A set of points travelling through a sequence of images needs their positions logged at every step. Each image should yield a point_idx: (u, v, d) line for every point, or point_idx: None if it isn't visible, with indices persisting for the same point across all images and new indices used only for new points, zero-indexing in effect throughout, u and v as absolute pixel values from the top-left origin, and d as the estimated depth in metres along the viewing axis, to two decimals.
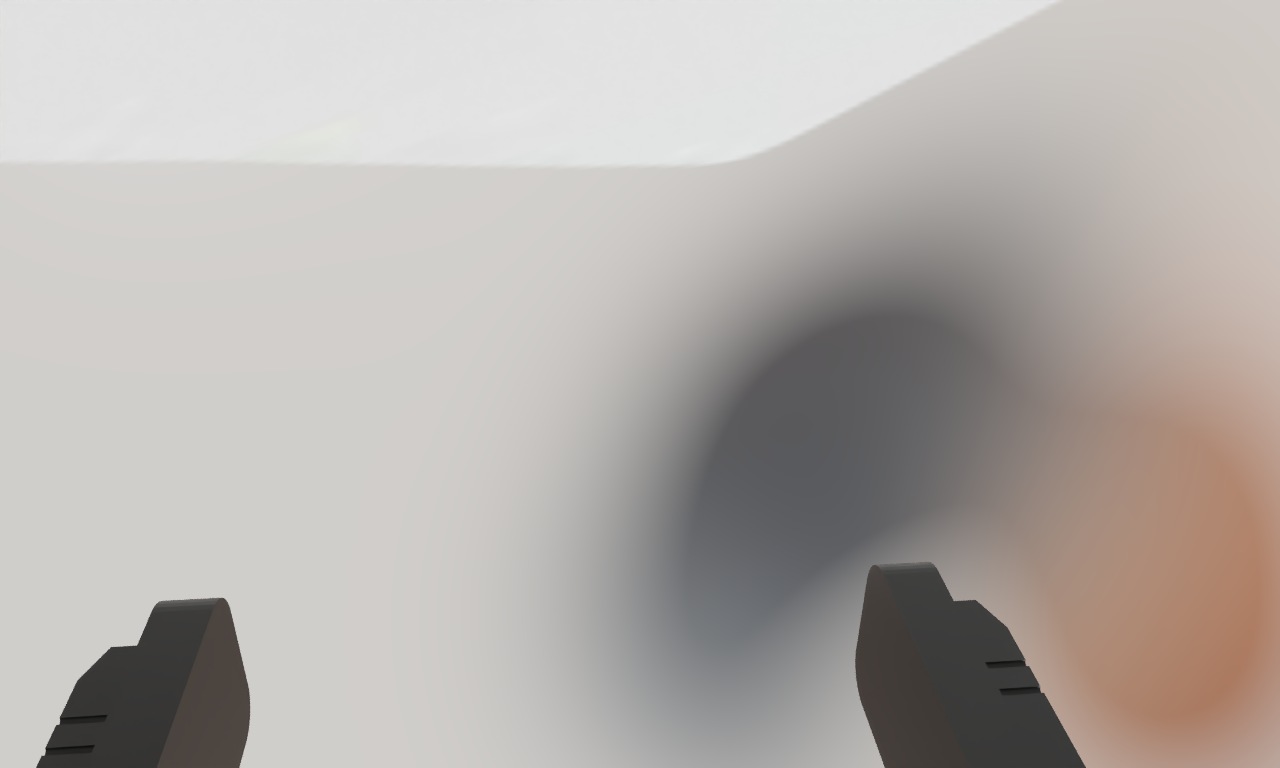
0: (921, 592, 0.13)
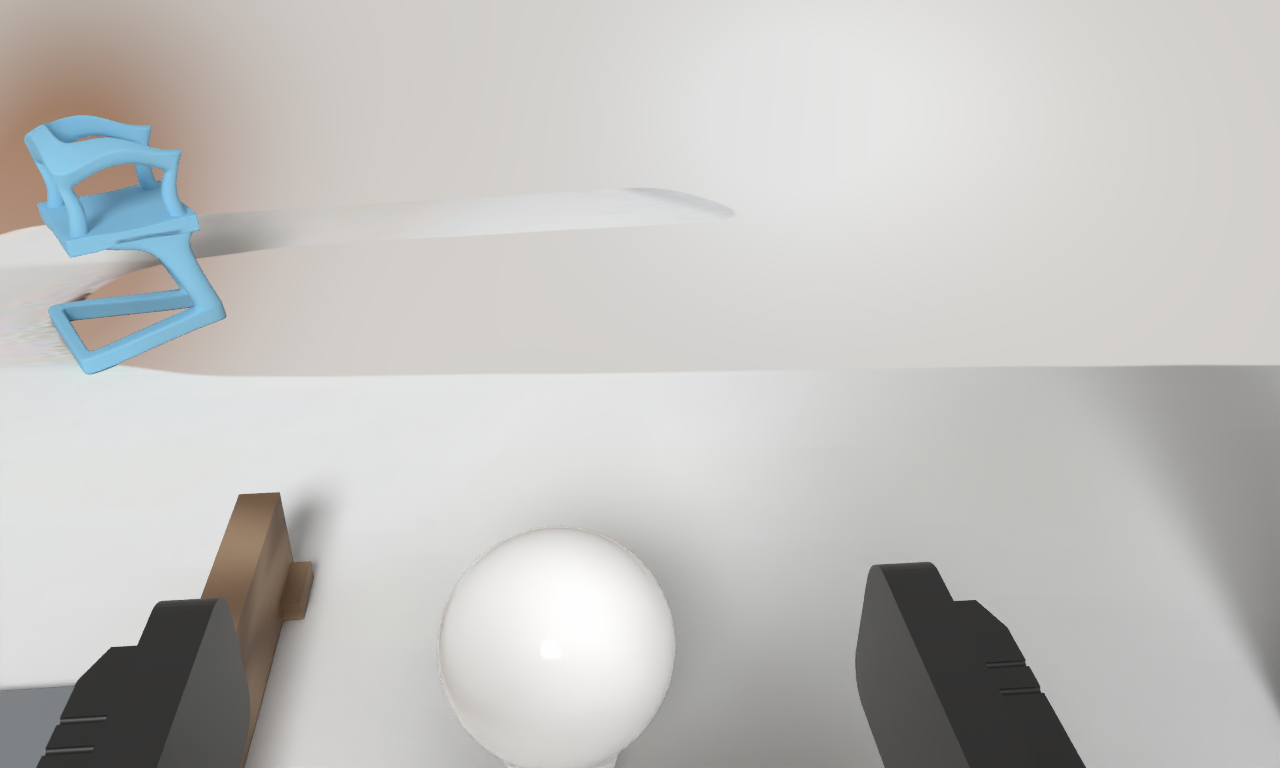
0: (921, 592, 0.13)
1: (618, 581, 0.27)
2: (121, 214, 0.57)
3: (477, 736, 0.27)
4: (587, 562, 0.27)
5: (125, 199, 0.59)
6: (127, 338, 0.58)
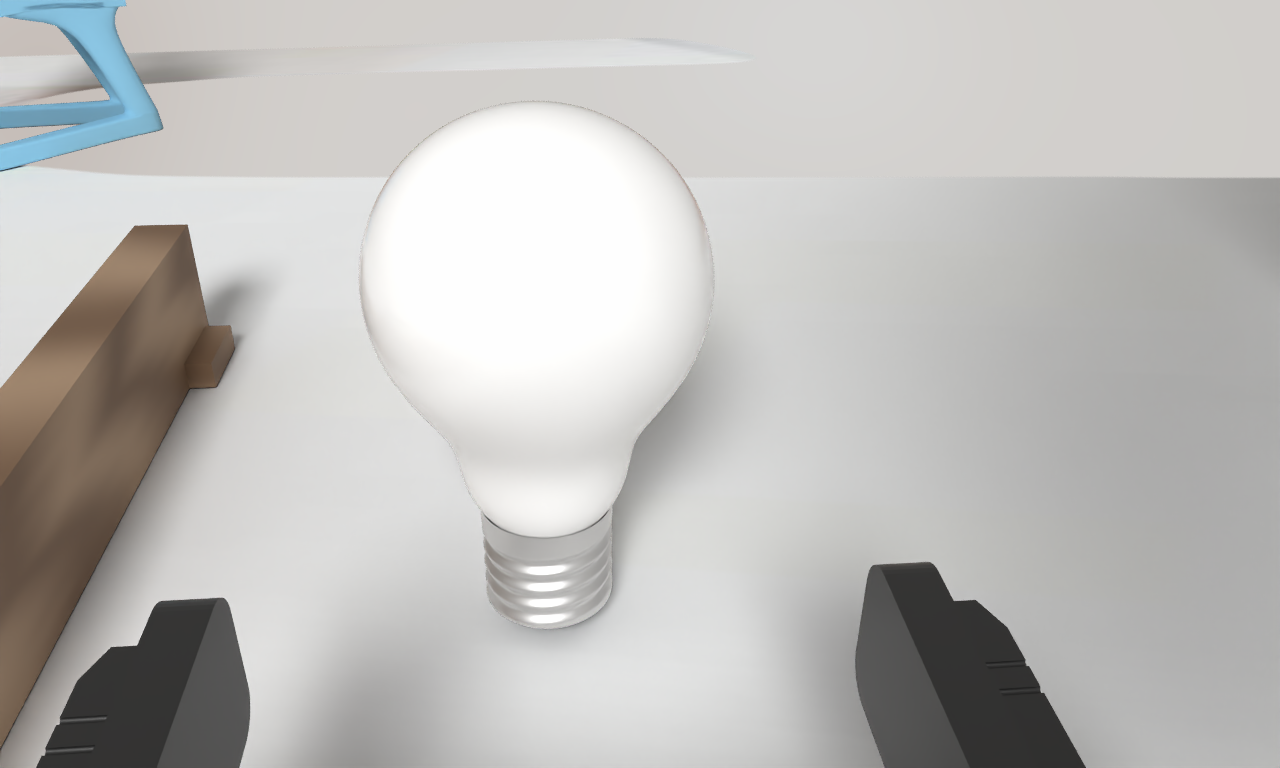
0: (921, 592, 0.13)
1: (631, 147, 0.18)
2: None
3: (415, 382, 0.18)
4: (584, 119, 0.18)
5: None
6: (39, 136, 0.49)
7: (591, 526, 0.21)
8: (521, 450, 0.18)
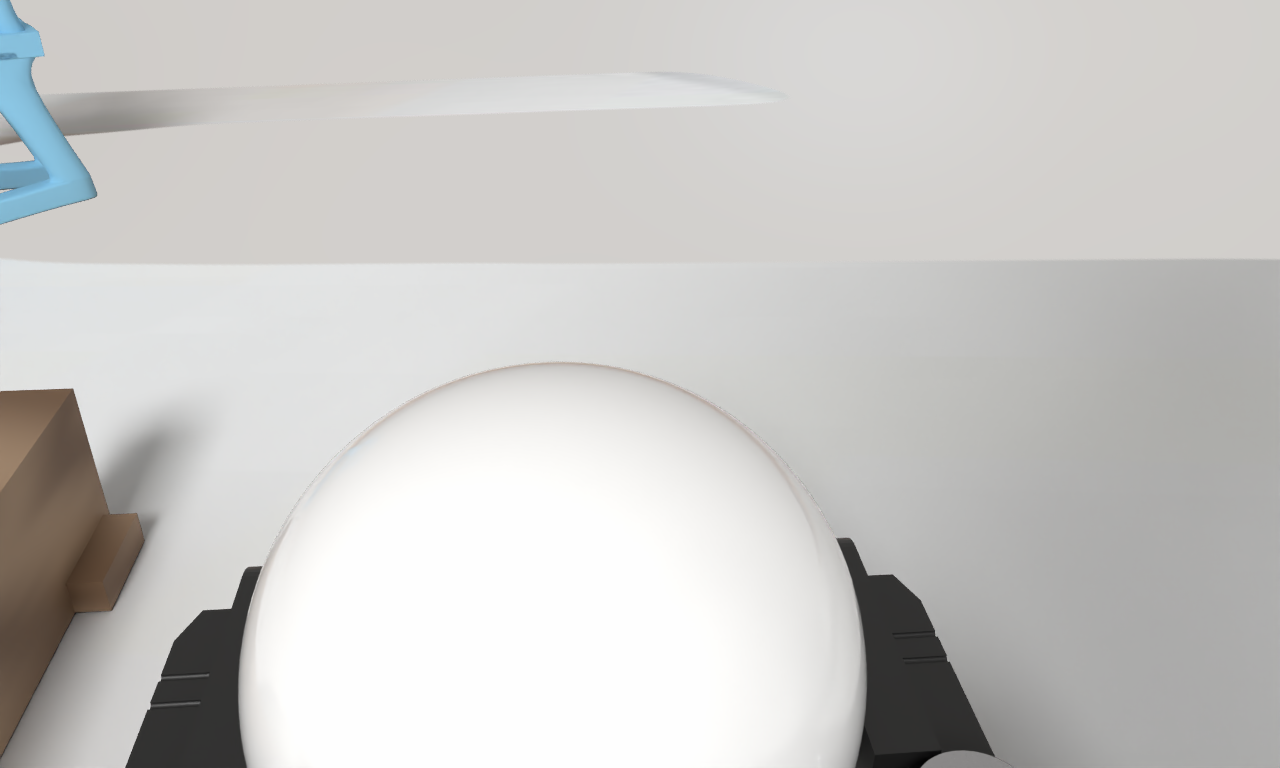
0: None
1: (734, 484, 0.10)
2: None
3: None
4: (647, 430, 0.10)
5: None
6: None
7: None
8: None
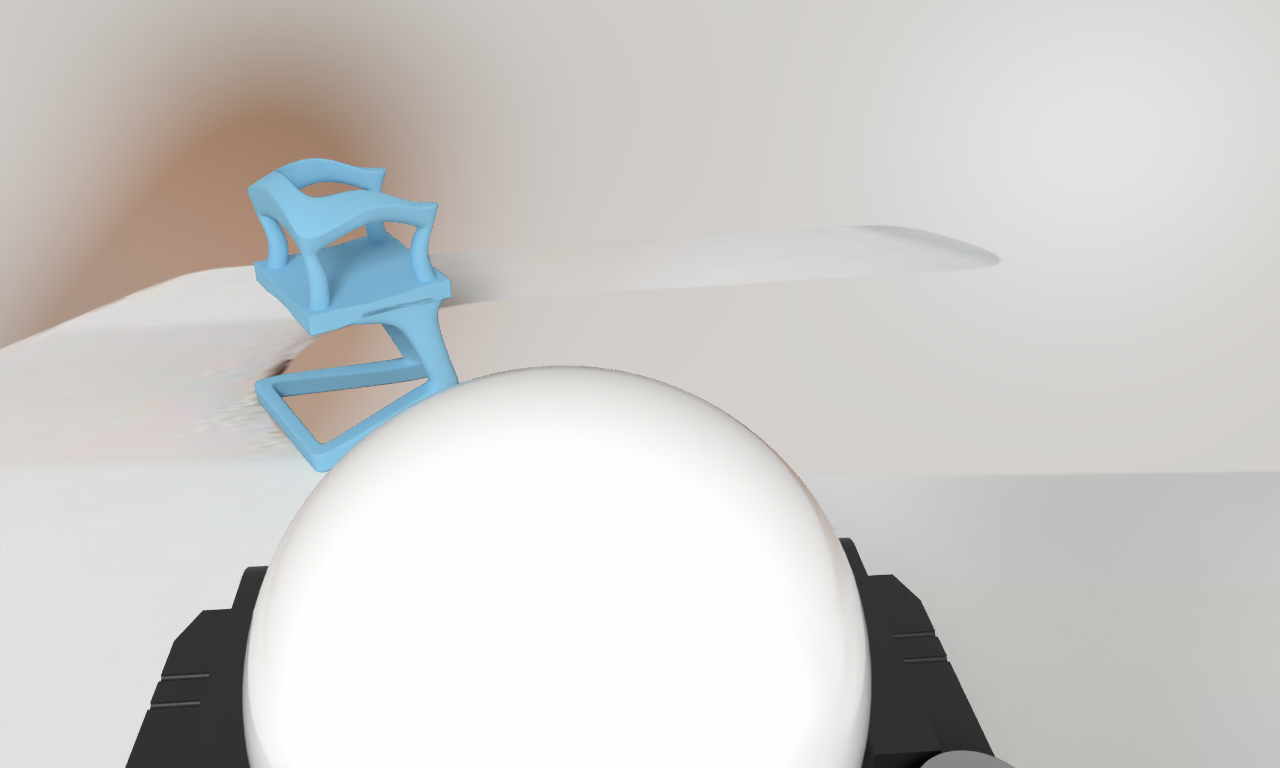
0: None
1: (739, 488, 0.10)
2: (358, 278, 0.47)
3: None
4: (652, 435, 0.10)
5: (355, 257, 0.49)
6: (361, 426, 0.48)
7: None
8: None
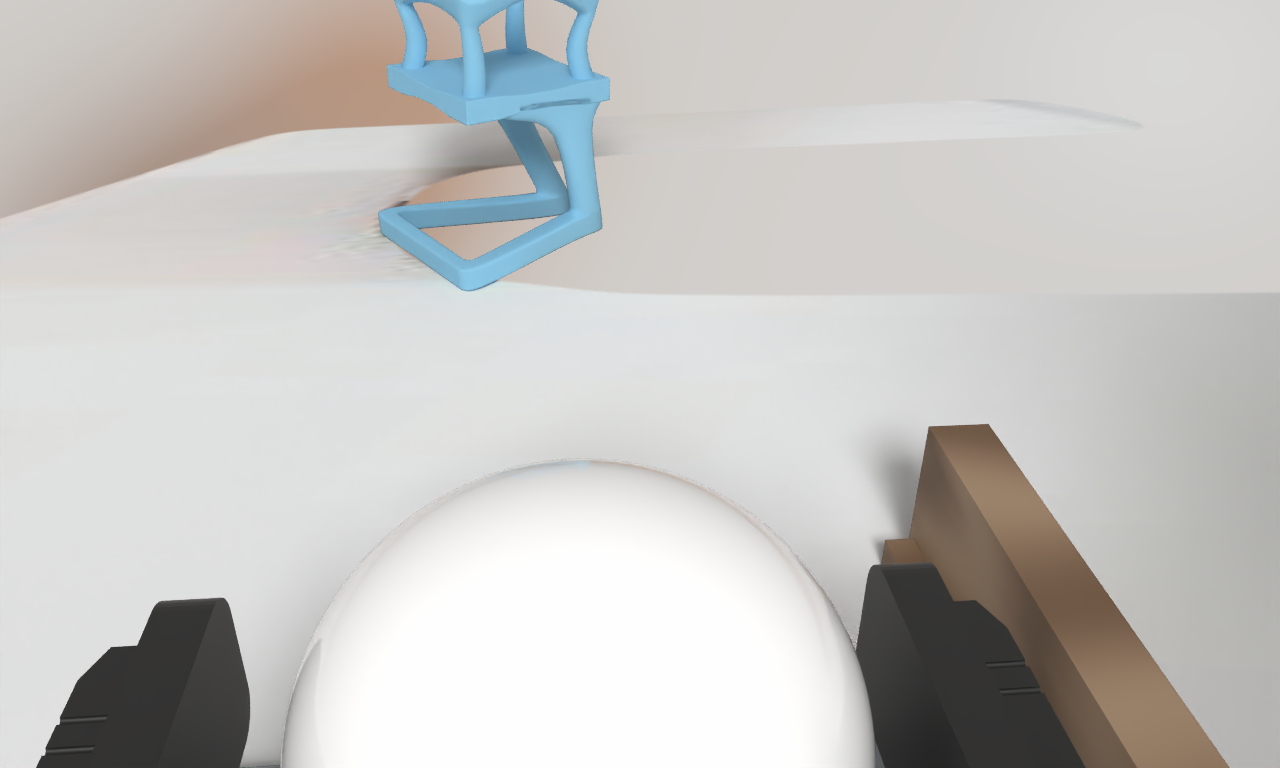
0: (921, 592, 0.13)
1: (757, 590, 0.10)
2: (507, 78, 0.42)
3: None
4: (675, 539, 0.10)
5: (497, 64, 0.44)
6: (507, 246, 0.43)
7: None
8: None
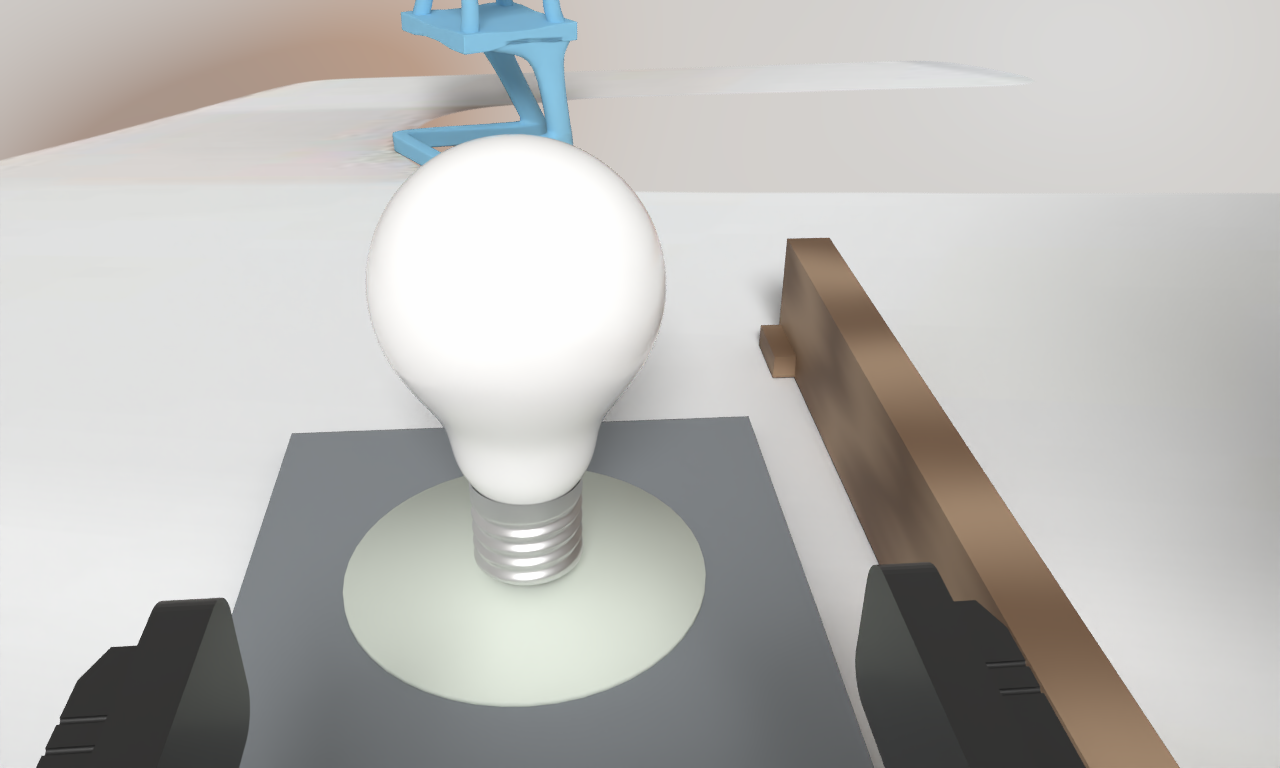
0: (921, 592, 0.13)
1: (595, 174, 0.21)
2: (496, 21, 0.54)
3: (414, 370, 0.21)
4: (555, 150, 0.21)
5: (488, 12, 0.56)
6: None
7: (563, 496, 0.25)
8: (504, 427, 0.22)
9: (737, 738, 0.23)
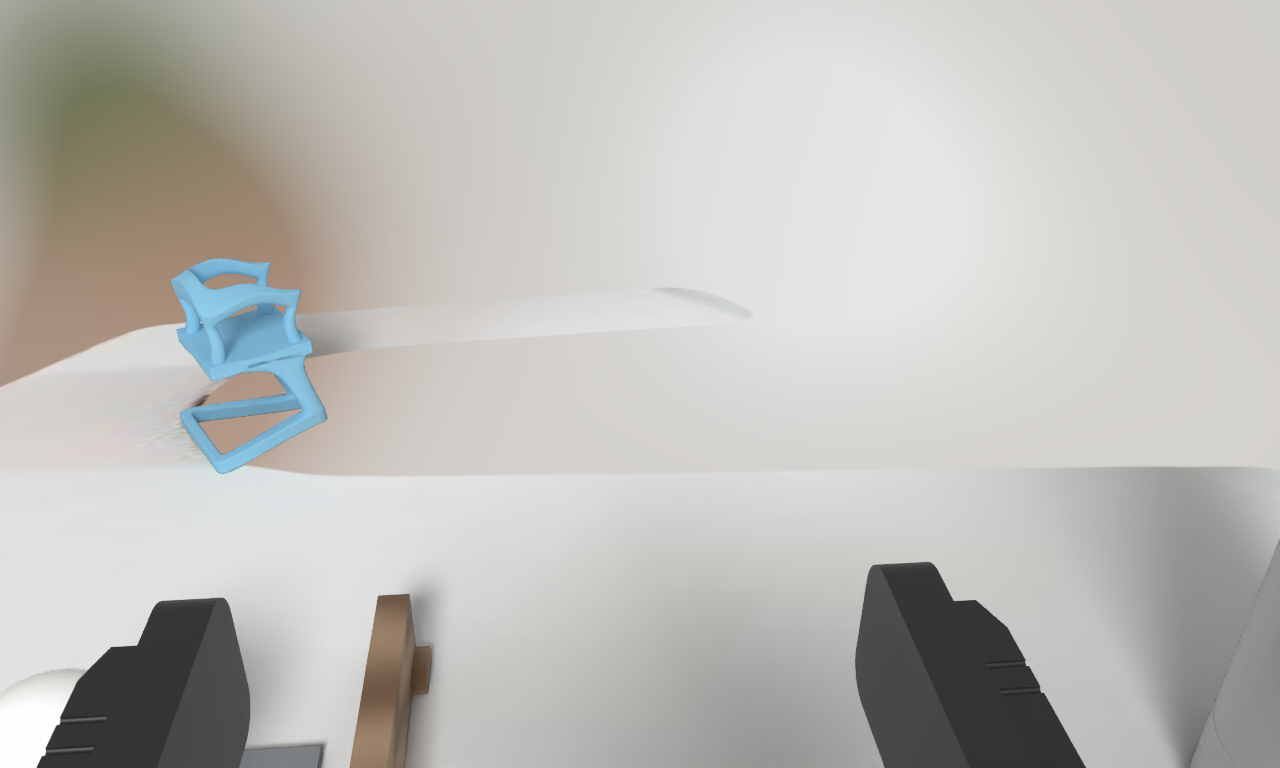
0: (921, 592, 0.13)
1: None
2: (248, 340, 0.69)
3: None
4: (60, 703, 0.37)
5: (248, 324, 0.71)
6: (251, 442, 0.70)
7: None
8: None
9: None
